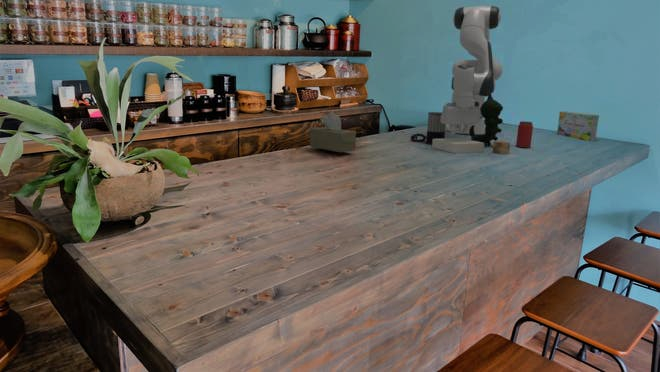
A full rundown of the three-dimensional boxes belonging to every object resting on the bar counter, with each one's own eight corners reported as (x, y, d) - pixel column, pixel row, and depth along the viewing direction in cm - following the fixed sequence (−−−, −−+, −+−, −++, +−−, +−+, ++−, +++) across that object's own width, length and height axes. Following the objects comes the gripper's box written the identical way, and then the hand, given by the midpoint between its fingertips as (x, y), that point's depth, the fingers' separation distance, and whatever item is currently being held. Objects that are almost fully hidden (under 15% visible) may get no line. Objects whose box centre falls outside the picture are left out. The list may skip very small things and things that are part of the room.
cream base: (432, 147, 230) (432, 138, 229) (459, 146, 237) (460, 137, 236) (454, 153, 216) (455, 144, 215) (483, 151, 223) (484, 142, 222)
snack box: (555, 138, 284) (559, 111, 280) (562, 137, 286) (566, 111, 283) (588, 143, 265) (592, 114, 262) (595, 143, 267) (600, 114, 264)
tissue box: (309, 146, 221) (310, 110, 218) (325, 144, 228) (326, 109, 224) (340, 152, 208) (341, 114, 205) (356, 150, 215) (357, 113, 212)
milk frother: (446, 145, 238) (449, 114, 235) (412, 144, 239) (415, 112, 235) (441, 141, 252) (443, 111, 249) (409, 140, 253) (411, 110, 249)
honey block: (492, 152, 223) (493, 141, 222) (499, 152, 225) (501, 140, 224) (501, 154, 219) (502, 143, 218) (509, 153, 221) (510, 142, 220)
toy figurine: (489, 148, 236) (495, 93, 230) (461, 142, 252) (466, 91, 246) (504, 147, 240) (510, 93, 234) (476, 141, 256) (481, 91, 251)
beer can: (528, 148, 239) (531, 123, 237) (514, 146, 243) (517, 121, 240) (532, 147, 244) (535, 122, 242) (518, 145, 248) (521, 120, 246)
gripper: (449, 103, 214) (446, 135, 217) (483, 103, 224) (480, 134, 228) (439, 102, 219) (436, 133, 223) (472, 102, 230) (469, 132, 233)
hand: (458, 133), depth 225 cm, fingers open, 5 cm apart
